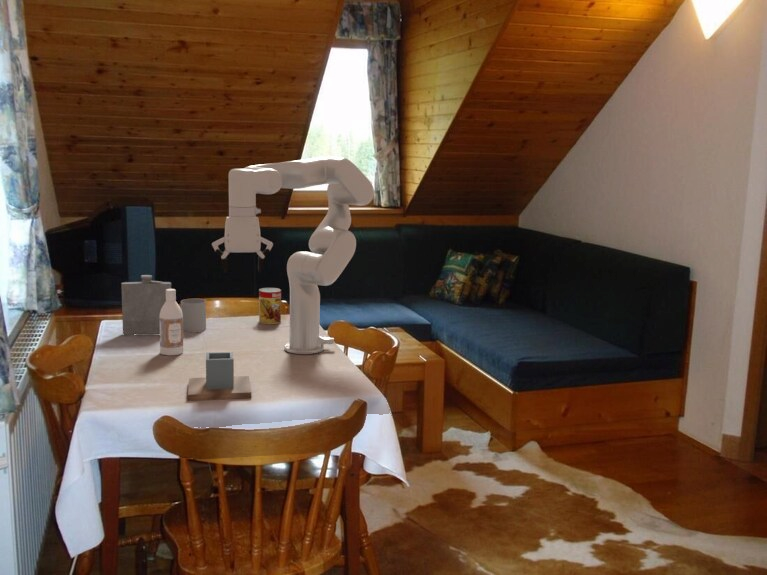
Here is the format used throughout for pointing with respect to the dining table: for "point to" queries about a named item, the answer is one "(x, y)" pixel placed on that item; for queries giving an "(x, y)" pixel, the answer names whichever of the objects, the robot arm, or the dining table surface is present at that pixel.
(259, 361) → the dining table surface
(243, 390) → the base
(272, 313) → the canned food
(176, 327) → the bath foam
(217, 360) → the duct sleeve
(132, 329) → the hip flask
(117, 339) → the dining table surface
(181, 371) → the dining table surface
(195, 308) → the cup
